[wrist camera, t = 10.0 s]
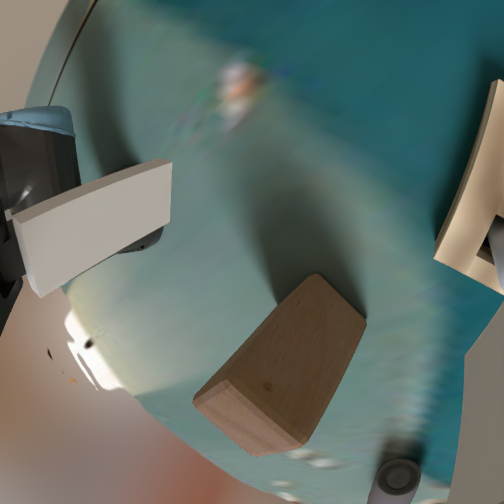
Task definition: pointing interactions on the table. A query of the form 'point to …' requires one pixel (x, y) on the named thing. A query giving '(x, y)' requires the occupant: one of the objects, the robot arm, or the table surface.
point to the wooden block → (284, 371)
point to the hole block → (478, 199)
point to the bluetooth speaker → (395, 483)
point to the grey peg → (497, 246)
